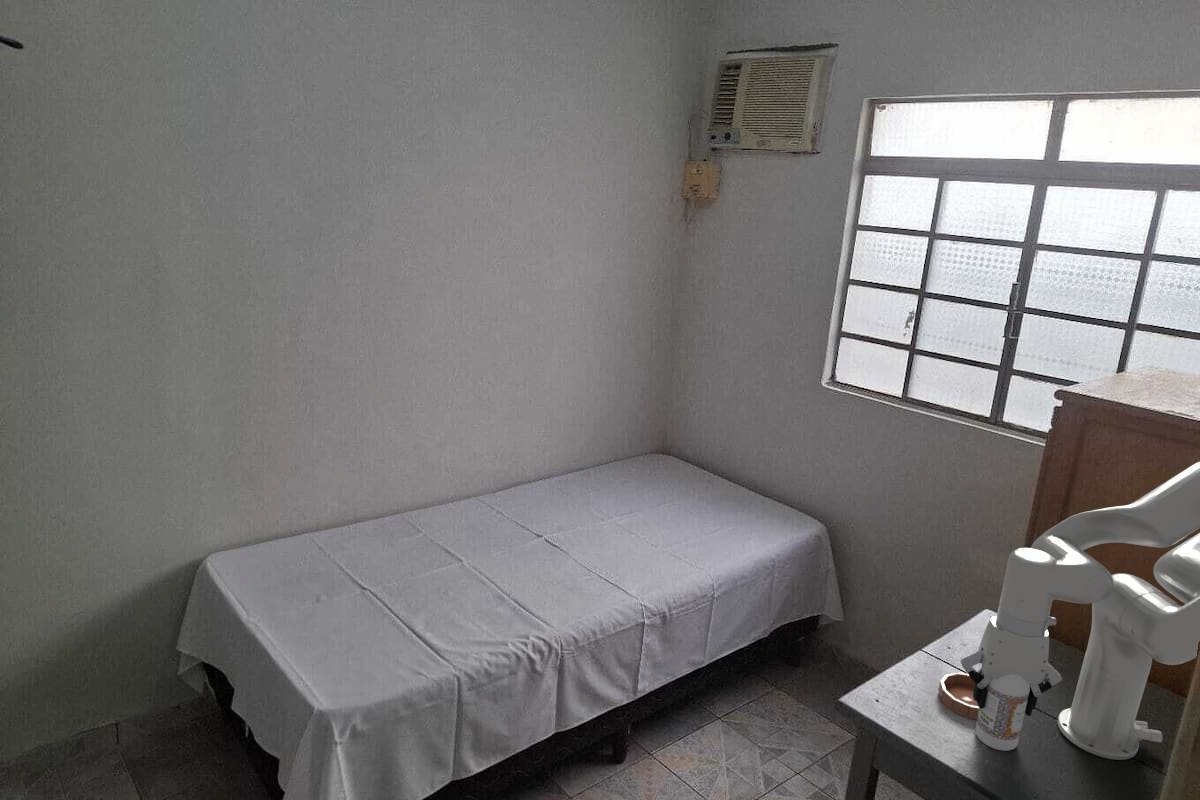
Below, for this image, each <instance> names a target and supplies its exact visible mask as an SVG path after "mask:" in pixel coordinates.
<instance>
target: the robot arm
mask: <svg viewBox="0 0 1200 800" xmlns="http://www.w3.org/2000/svg"><path fill="white" fill-rule="evenodd" d="M1199 529H1200V461H1198V462H1196V463H1194V464H1192V465H1190V466H1188V467H1187V468H1185V469H1184V470H1182V471H1181V472H1179V473H1178V474H1176V475H1174V476H1173V477H1171V478H1170V479H1168V480H1166V481H1165V482H1163V483H1162V484H1160V485H1158V486H1157V487H1155V488H1154V489H1152V490H1151V491H1149V492H1148V493H1146V494H1144V495H1143V496H1141V497H1140V498H1138V499H1136V500H1135V501H1133V502H1131V503H1130V504H1126V505H1118V506H1111V507H1104V508H1099V509H1093V510H1092V509H1091V510H1090V511H1084V512H1079V513H1077V514H1074V515H1071V516H1068V517H1066V518H1065V519H1063V520H1062V521H1060V522H1059V523H1057V524H1056V525H1054V526H1053V527H1051V528H1049V529H1048V530H1046V531H1045V532H1043V534H1040V535H1039V537H1038V538H1037V539H1035V541H1034V542H1033V543H1032V544H1031V546H1030V547H1018V548H1016V549H1014V550H1012V551H1011V552H1010V554H1009V556H1008V560H1007V562H1006V569H1005V574H1004V579H1003V584H1002V589H1001V595H1000V598H999V604H998V608H997V612H996V613H997V614H996V616H992V617H991V618H990V619H989V620H988V623H987V625H986V628H985V629H984V632H983V635H982V637H981V640H980V642H979V647H978V651H977V652H975V653H973V654H970V655H969V656H966V657H964V658H962V659H961V660H960V664H961V667H962V668H963V669H964V671H965V672H966V674H968V675H969V676H970V678H971V679H972V680H973V681H974V682H975V688H974V693H973V698H974V700H975V701H977V704H978V706H979V708H981V709H983V708H984V705H985V700H986V696H987V688H986V685H987V684H988V683H989V682H990V681H991V680H992V679H993V678H995V679H999V678H1001V677H1003V676H1005V675H1010V674H1015V675H1019V676H1021V677H1022V678H1023V679H1025V680H1026V682H1027V683H1028V684H1030V692H1029V697H1028V701H1027V705H1026V710H1025V714H1024V715H1025V716H1027V717H1031V716H1032V712H1033V710H1036V706H1037V702H1038V699H1039V698H1041V696H1042V694H1043V693H1045V692H1047V691H1048V690H1051V689H1052V688H1053V687H1052V686H1055V685H1057V684H1059V683H1060V682H1062V680H1063V678H1062V675H1061V674H1060V673H1059V672H1058V670H1056V669H1055V668H1054V666H1052V665H1051V664H1050V663H1049V655H1050V653H1049V651H1050V636H1049V635H1050V634H1049V630H1048V627H1051V626H1056V625H1057V621H1058V620H1057V618H1056V617H1052V615H1051V616H1050V613H1051V608H1052V605H1053V604H1052V603H1053V601H1054V600H1058V601H1064V602H1069V603H1074V604H1075V603H1076V604H1082V605H1083V604H1084V605H1092V607H1091V618H1092V619H1091V629H1090V635H1089V638H1088V644H1087V647H1086V651H1085V653H1084V654H1085V655H1084V657H1083V661H1082V664H1081V668H1080V669H1081V670H1080V673H1079V676H1078V681H1077V685H1076V689H1075V691H1074V696H1073V700H1072V703H1071V707H1069V708H1068V707H1067V708H1066V709H1063V710H1061V711H1060V712H1059V714H1058V717H1057V726H1058V729H1059V731H1060V732H1061V733H1062V734H1063V736H1065V737H1066V738H1067V740H1069V741H1070V742H1071V743H1072V744H1074V745H1075V746H1077V747H1078V748H1079V749H1081V750H1084V751H1085V752H1087V753H1090V754H1092V755H1094V756H1098V757H1101V758H1105V759H1108V760H1117V761H1118V760H1119V761H1123V760H1129V759H1131V758H1134V757H1135V756H1136V755H1137V753H1138V750H1139V746H1140V744H1139V741H1142V740H1146V741H1147V740H1148V741H1151V742H1158V743H1162V741H1163V733H1162V732H1161V731H1160V730H1159V729H1158V730H1156V729H1152V728H1149V724H1148V722H1147V721H1142V720H1136V719H1137V716H1138V715H1137V714H1138V711H1139V708H1140V704H1141V701H1142V699H1143V694H1144V691H1145V687H1146V685H1147V682H1148V677H1149V675H1150V672H1151V669H1152V663H1153V660H1155V661H1157V662H1158V663H1161V664H1164V665H1169V666H1177V665H1181V664H1185V663H1187V662H1190V661H1192V660H1194V659H1196V658H1197V657H1196V656H1197V650H1198V643H1199V641H1200V532H1198V533H1196V534H1194V536H1192V537H1190V538H1188V539H1187V540H1185V541H1184V542H1182V543H1180V544H1179V545H1177V546H1175V547H1174V548H1171V550H1169V551H1168V552H1165V554H1163V555H1162V556H1160V558H1158V559H1157V561H1156V562H1155V564H1154V566H1153V571H1152V573H1153V576H1154V579H1155V580H1156V582H1157V583H1158V584H1159V585H1160V586H1161V587H1162V588H1163V589H1164V590H1166V591H1167V592H1168V593H1169V594H1171V595H1172V596H1174V597H1175V598H1176V599H1177V600H1179V601H1180V602H1182V603H1183V605H1181V604H1179V603H1178V602H1176V601H1175V600H1173V599H1172V598H1171V597H1170V596H1168V595H1167V594H1165V593H1164V592H1162V591H1161V590H1160V589H1158V588H1157V587H1156V586H1154V585H1152V584H1151V583H1149V582H1148V581H1146V580H1145V579H1143V578H1141V577H1138V576H1135V575H1133V574H1130V573H1114V574H1111V573H1110V571H1109V570H1108V569H1107V568H1106V567H1105V566H1104V565H1103V564H1101V562H1099V561H1098V560H1096V559H1095V558H1093V557H1092V556H1090V555H1089V554H1088V553H1087V552H1085V550H1087V549H1089V548H1092V547H1094V546H1097V545H1098V546H1099V545H1102V544H1111V543H1121V544H1129V545H1130V544H1131V545H1138V546H1143V547H1144V546H1145V547H1151V548H1161V549H1162V548H1169V547H1172V546H1173V545H1175V544H1177V543H1178V542H1180V541H1182V540H1183V539H1185V538H1186V537H1187V536H1189V535H1191V534H1193V533H1194V532H1196V531H1197V530H1199ZM978 664H981V667H980V668H979V669H978V670H976V669H975V668H974V666H976V665H978Z"/></svg>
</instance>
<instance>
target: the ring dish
mask: <svg viewBox="0 0 1200 800" xmlns="http://www.w3.org/2000/svg"><path fill="white" fill-rule="evenodd" d="M974 688H975V682H974V681H973V680H972V679H971V678H970V676H969V675H968V673H967V672H966V673H965V672H960V671H959V672H957V671H955V672H950V673H946V674H944V676H943V677H942V678H941V679H940V680H939V685H938V697H939V699H940V701H941V703H942V704H943V705H944V706H945V707H946V708H947V709H949V710H950V711H951V712H954V713H955V714H957V715H959V716H960V717H964V718H967V719H969V720H974V721H977V718H978V713H979V706H978V704H977V701H975V700H974V698H973V693H974Z"/></svg>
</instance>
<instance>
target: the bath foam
mask: <svg viewBox="0 0 1200 800" xmlns="http://www.w3.org/2000/svg"><path fill="white" fill-rule="evenodd" d="M986 688H987V696H986V700H985V705H984V708H983V709H981V708H979V713H978V718H977V720H976V723H975V729H974V730H975V735H976V736H977V738H978V739H979V740H980V741H981V742H982V743H983V744H985V745H986V746H988V747H989V748H992V749H994V750H998V751H1004V752H1005V751H1006V752H1008V751H1012V750H1014V749H1016V748H1017V746H1018V744H1019V740H1020V736H1021V731H1022V727H1023V723H1024V718H1025V715H1026V714H1025V710H1026V705H1027V701H1028V697H1029V692H1030V684H1028V683H1027V682H1026V680H1025V679H1023V678H1022V677H1021V676H1019V675H1015V674H1010V675H1005V676H1003V677H1001V678H999V679H995V678H993V679H992V680H991V681H990V682H989V683H988V684H987V685H986Z"/></svg>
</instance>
